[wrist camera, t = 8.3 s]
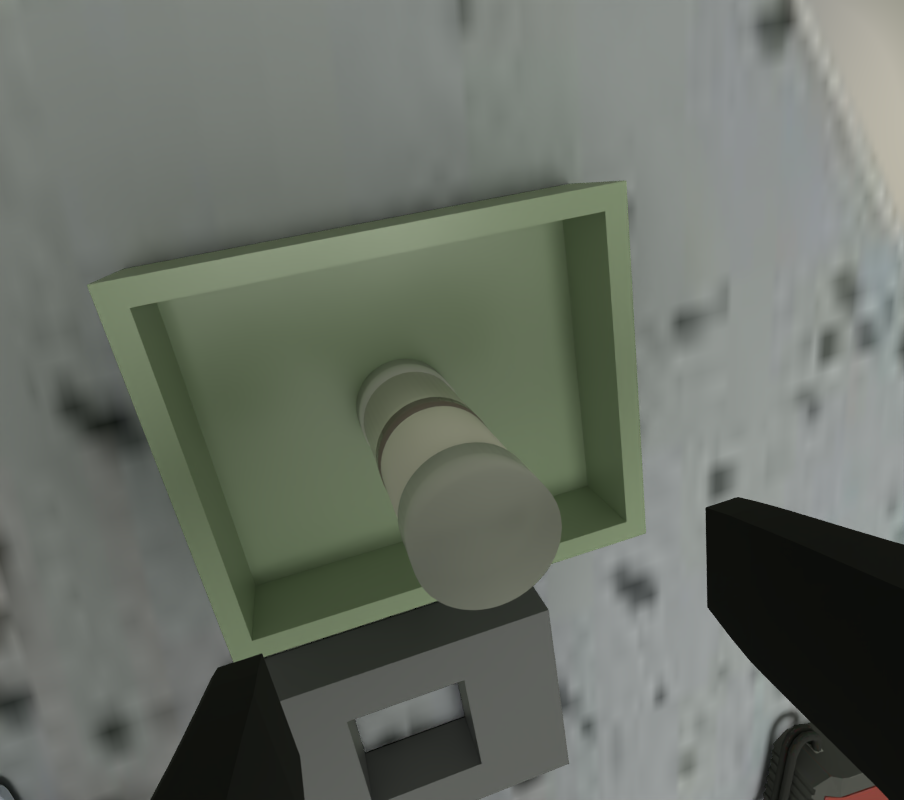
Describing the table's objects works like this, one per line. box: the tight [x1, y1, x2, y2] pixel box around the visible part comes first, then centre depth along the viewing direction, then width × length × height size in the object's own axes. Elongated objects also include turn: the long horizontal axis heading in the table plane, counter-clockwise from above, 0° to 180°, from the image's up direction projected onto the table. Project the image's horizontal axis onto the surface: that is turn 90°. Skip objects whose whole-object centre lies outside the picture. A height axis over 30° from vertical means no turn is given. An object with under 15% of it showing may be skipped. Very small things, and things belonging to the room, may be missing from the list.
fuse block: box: [264, 587, 569, 800], centre depth 20 cm, size 10×7×2 cm
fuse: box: [356, 359, 562, 610], centre depth 14 cm, size 3×3×8 cm
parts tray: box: [87, 181, 646, 662], centre depth 16 cm, size 12×10×3 cm
